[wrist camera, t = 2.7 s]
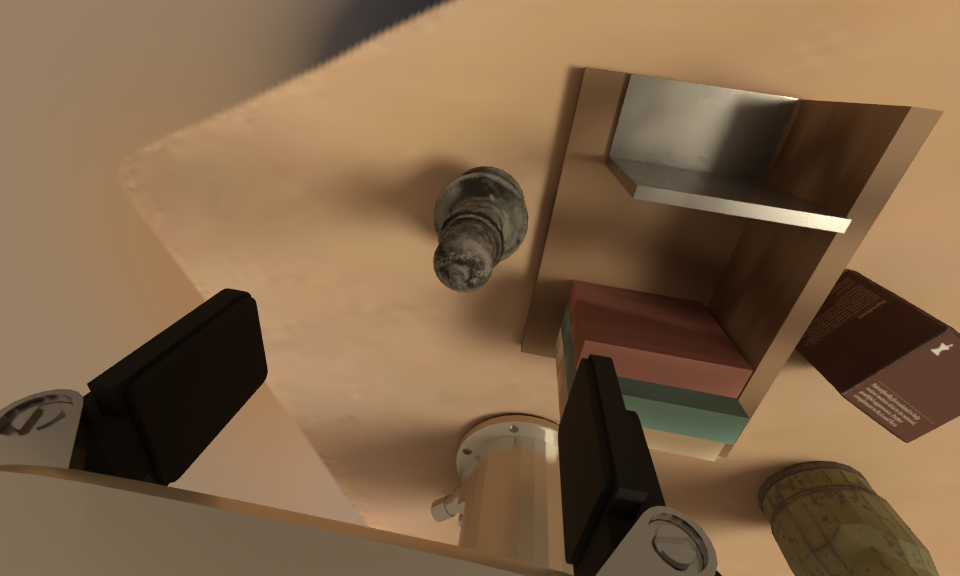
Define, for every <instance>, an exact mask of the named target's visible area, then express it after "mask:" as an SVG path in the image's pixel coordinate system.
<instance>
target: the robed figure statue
mask: <svg viewBox="0 0 960 576" xmlns="http://www.w3.org/2000/svg"><path fill="white" fill-rule="evenodd" d="M758 500H759V505H760V507H761V509H762V511H763V513H764V514H765V515H766V517H767V519H768V521H769V522H770V524H771V529H772V534H773V536H774V538H775V540H776V542H777V544H778V546H779V548H780V549H781V551H782V553H783V555H784V557H785V559H786V561H787V563H788V565H789V567H790V569H791V570H792V572H793V573H794V575H795V576H939V575H938V572H937V570H936V567H935V565H934V563H933V560H932V558H931V555H930V553H929V551H928V550H927V549H926V547H925V546H924V545H923V544H922V543H921V541H920V540H919V539H918V538H917V537H916V535H915V534H914V533H913V532H912V531H911V529H910V528H909V527H908V526H907V525H906V523H905V522H904V521H903V520H902V519H901V517H900V516H899V515H898V514H897V513H896V512H895V510H894V509H893V508H892V507H891V506H890V504H889V503H888V502H887V501H886V500H885V499H883V498H881V497H880V496H878V495H877V494H876V493H875V491H874V490H873V489H872V488H871V486H870V485H869V483H868V482H867V480H866V479H865V478H864V476H863V475H862V474H861V473H860V472H858V471H856V470H855V469H853V468H852V467H850V466H847V465H843V464H839V463H836V462H820V461H816V462H809V463H802V464H797V465H794V466H791V467H789V468H786V469H783V470H781V471H779V472H778V473H776V474H775V475H773V476H771V477H770V478H769V479H768V480H767V481H766V482H765V483H764V484H763V485H762V486H761V489H760V492H759V494H758Z"/></svg>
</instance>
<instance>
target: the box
mask: <svg viewBox="0 0 960 576" xmlns="http://www.w3.org/2000/svg"><path fill="white" fill-rule="evenodd" d="M795 348H796V350H797V351H799V352H800V353H801V354H802V355H803V356H804V357H805V358H806V359H807V360H808V361H809V362H810V363H811V364H812V365H813V366H814V367H815V368H816V369H817V370H818V371H819V372H820V373H821V374H822V375H823V376H824V377H825V378H826V380H827V381H828V382H829V383H831V384H832V385H833V386H834V387H835V389H836V390H837V391H838V392H839V393H840V394H841V396H843V397H844V398H845V399H847V400H848V401H849V402H850V403H852V404H853V405H854V406H855V407H857V408H858V409H860V410H861V411H862V412H864V413H865V414H866V415H868V416H869V417H870V418H872V419H873V420H874V421H876V422H877V423H879V424H880V425H881V426H883V427H884V428H885V429H887V430H888V431H889V432H891V433H892V434H893V435H895V436H896V437H898V438H899V439H901V440H902V441H904V442H906V443H909V442H911V441H913V440H915V439H917V438H919V437H920V436H922V435H924V434H926V433H928V432H930V431H932V430H934V429H936V428H938V427H939V426H941V425H943V424H945V423H947V422H949V421H951V420H953V419H954V418H956V417H958V416H960V333H958V332H957V331H956V330H955V329H954V328H952V327H950V326H948V325H947V324H945V323H943V322H941V321H940V320H938V319H936V318H935V317H933V316H931V315H930V314H928V313H926V312H925V311H923V310H921V309H920V308H918V307H916V306H915V305H913V304H911V303H909V302H908V301H906V300H905V299H903V298H901V297H899V296H898V295H896V294H895V293H893V292H891V291H889V290H887V289H885V288H884V287H882V286H880V285H878V284H877V283H875V282H873V281H872V280H870V279H868V278H866V277H865V276H863V275H862V274H860V273H858V272H856V271H853V270H852V271H850V272H848V273H847V274H846V275H844V276H843V277H842V278H840V279H839V280H837V282H836V283H835V285H834V287H833V288H832V290H831V291H830V293H829V295H828V296H827V298H826V299H825V301H824V303H823V304H822V306H821V307H820V309H819V310H818V312H817V314H816V315H815V317H814V318H813V320H812V322H811V323H810V325H809V326H808V328H807V330H806V331H805V333H804V334H803V336H802V337H801V339H800V341H799V342H798V344H797V345H796V347H795Z"/></svg>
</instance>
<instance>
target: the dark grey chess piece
mask: <svg viewBox="0 0 960 576" xmlns="http://www.w3.org/2000/svg"><path fill="white" fill-rule="evenodd" d="M434 226H435V229H436V232H437V235H438V242H439V245H438V247H437V249H436V251H435V254H434V258H433V263H434V270H435V273H436V275H437V277H438V278H439V280H440V281H441V282H442V283H443V284H444V285H445V286H446V287H448V288H450V289H452V290H454V291H458V292H466V293H467V292H472V291H475V290H477V289H480V288H481V287H482V286H483V285H484V284H485V283H486V282H487V281H488V279H489V278H490V276H491V273H492V269H493V268H494V267H495V266H496V265H497V264H498V263H499V262H500V261H502V260H504V259H506V258H508V257H509V256H511V255H512V254H513V253H514V252H515V251H516V250H517V249H518V248H519V246H520V245H521V243H522V242H523V241H524V238H525V235H526V232H527V229H528V213H527V209H526V204H525V201H524V196H523V192H522V190H521V188H520V186H519V184H518V183H517V181H516V180H515V179H514V178H513V177H512V176H511V175H509V174H508V173H506V172H505V171H503V170H501V169H497V168H494V167H479V168H475V169H471V170H470V171H468V172H466V173H464V174H463V175H462V176H460V177H458V178H456V179H455V180H453V181H451V182H450V183H449V184H448V185H447V186H446V187H445V188H444V189H443V190H442V192H441V194H440V196H439V197H438V199H437V201H436V205H435V210H434Z"/></svg>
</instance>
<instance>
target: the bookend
mask: <svg viewBox="0 0 960 576" xmlns="http://www.w3.org/2000/svg"><path fill="white" fill-rule="evenodd" d="M797 101H798V98H791V97H784V96H777V95H771V94H764V93H757V92H750V91H744V90H737V89H730V88H723V87H717V86H710V85H703V84H697V83H690V82H683V81H676V80H670V79H663V78H656V77H649V76H643V75H636V74H630V77H629V81H628V85H627V88H626V92H625V95H624V99H623V103H622V106H621V110H620V114H619V117H618V121H617V124H616V128H615V132H614V135H613V139H612V143H611V146H610V150H609V154H608V157H607V161H606V164H605V166H606V167H607V168H608V169H609V170H610V172H611V173H612V174H613V175H614V176H615V178H616V179H617V180H618V181H619V182H620V184H621V185H622V186H623V187H624V188H625V190H626V191H627V192H628V193H629V194H630V195H631V197H632V198H633V199H638V200H644V201H650V202H656V203H662V204H669V205H675V206H681V207H687V208H693V209H699V210H705V211H711V212H717V213H724V214H730V215H736V216H742V217H748V218H754V219H760V220H766V221H772V222H779V223H785V224H791V225H797V226H803V227H809V228H815V229H821V230H827V231H833V232H840V233H844V232H845V231H846V229H847V227H848V226H849V224H850V222H851V221H852V220H851V219H849V218H847V217H844V216H842V215H840V214H837V213H835V212H833V211H831V210H828V209H826V208H824V207H821V206H819V205H817V204H814V203H812V202H810V201H807V200H805V199H803V198H801V197H798V196H796V195H794V194H791V193H789V192H787V191H784V190H782V189H780V188H778V187H775V186H773V185H771V184H768V183H766V182H764V181H761V179H762V177H763V174H764V172H765V170H766V168H767V166H768V164H769V162H770V159H771V157H772V155H773V153H774V151H775V149H776V146H777V144H778V142H779V140H780V138H781V136H782V134H783V131H784V129H785V127H786V125H787V123H788V121H789V118H790V116H791V114H792V112H793V110H794V108H795V106H796V103H797Z"/></svg>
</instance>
